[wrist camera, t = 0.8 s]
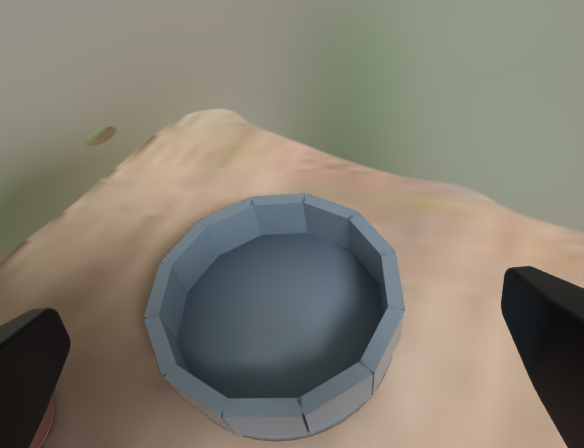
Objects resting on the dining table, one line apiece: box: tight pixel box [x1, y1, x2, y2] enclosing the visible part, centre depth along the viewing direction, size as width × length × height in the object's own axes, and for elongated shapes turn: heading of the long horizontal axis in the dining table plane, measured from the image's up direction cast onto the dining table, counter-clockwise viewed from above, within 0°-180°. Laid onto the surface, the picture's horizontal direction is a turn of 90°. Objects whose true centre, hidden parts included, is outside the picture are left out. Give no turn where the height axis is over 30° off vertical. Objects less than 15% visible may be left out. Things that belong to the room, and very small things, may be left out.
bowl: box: [144, 193, 405, 441], centre depth 24 cm, size 14×14×4 cm
